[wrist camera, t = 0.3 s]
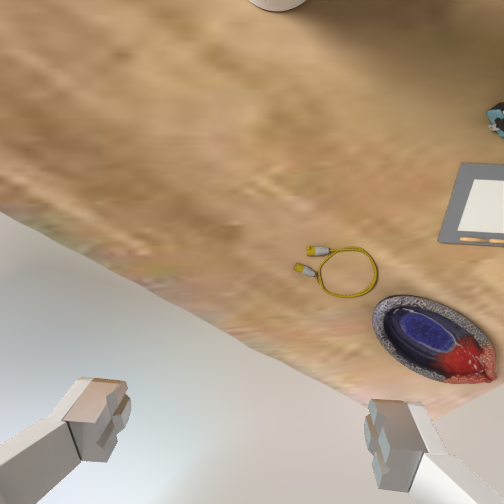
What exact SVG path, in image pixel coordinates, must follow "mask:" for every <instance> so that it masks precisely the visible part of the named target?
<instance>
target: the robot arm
mask: <svg viewBox="0 0 504 504" xmlns="http://www.w3.org/2000/svg"><path fill="white" fill-rule="evenodd" d="M249 1H250V2H252V3H253V4H255V5H256V6H258V7H260V8H262V9H265V10H269V11H285V10H289V9H292V8H295V7H297V6H298V5H300V4H302V3H303V2H305V1H306V0H249ZM127 389H128V388H127V384H126V382H125V381H119V380H110V379H99V378H87V377H81V378H79V379H78V380H77V381H76V382H75V383H74V384H73V386H72V387H71V388H70V389H69V391H68V392H67V393H66V394H65V396H64V397H63V398H62V399H61V401H60V402H59V403H58V404H57V406H56V407H55V408H54V410H53V411H52V412H51V413H50V415H49V416H48V417H47V418H46V420H42V419H41V420H39V421H38V422H36V423H35V424H33V425H31V426H30V427H28V428H27V429H25V430H23V431H22V432H20V433H19V434H17V435H15V436H14V437H12V438H11V439H9V440H7V441H6V442H4V443H2V444H1V445H0V504H36V503H37V502H38V501H39V500H40V499H41V498H42V497H44V496H45V495H46V494H47V493H48V492H49V491H50V490H51V489H52V488H53V487H54V486H56V485H57V484H58V483H59V482H60V481H61V480H62V479H63V478H64V477H65V476H66V475H68V474H69V473H70V472H71V471H72V470H73V469H74V468H75V467H76V466H77V465H78V464H80V463H81V461H93V462H107V461H108V459H109V457H110V455H111V453H112V451H113V449H114V448H115V446H116V444H117V442H118V441H117V435H116V434H118V433H119V432H120V431H121V430H123V429H124V428H125V426H126V424H127V422H128V419H129V416H130V411H131V400H130V398H129V397H128V396H127V395H126V394H125V393H126V391H127ZM368 409H369V412H370V414H369V415H368V416H366V418H365V424H364V425H365V426H364V428H365V429H364V430H365V439H366V443H367V447H368V450H369V451H370V452H371V453H372V454H373V456H374V459H373V462H372V466H373V470H374V474H375V477H376V481H377V485H378V489H384V490H392V491H400V492H408V493H409V495H410V497H411V498H412V499H413V500H414V502H415V503H416V504H504V498H502V497H501V496H500V495H499V494H498V493H497V492H496V491H494V490H493V489H492V488H491V487H490V486H489V485H488V484H487V483H485V482H484V481H483V480H482V479H481V478H480V477H479V476H477V475H476V474H475V473H474V472H473V471H472V470H471V469H469V468H468V467H467V466H466V465H465V464H464V463H463V462H462V461H460V460H459V459H458V458H457V457H456V456H455V455H449V453H448V451H447V449H446V447H445V446H444V444H443V442H442V440H441V438H440V436H439V434H438V432H437V430H436V428H435V426H434V424H433V422H432V420H431V418H430V416H429V414H428V412H427V410H426V409H425V407H424V405H423V404H422V403H421V402H409V401H398V400H382V399H371V400H370V401H369V405H368Z"/></svg>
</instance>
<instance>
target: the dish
mask: <svg viewBox="0 0 504 504" xmlns="http://www.w3.org/2000/svg"><path fill="white" fill-rule="evenodd" d="M372 324H373V328H374V331H375V333H376V336H377V338H378V339H379V341H380V343H381V344H382V345H383V347H384V348H385V349H386V350H387V351H388V352H389V354H390V355H392V356H393V357H394V358H395V359H396V360H397V361H399V362H400V363H401V364H403V365H404V366H406V367H408V368H409V369H411V370H413V371H415V372H416V373H418V374H420V375H423V376H425V377H427V378H430V379H433V380H436V381H440V382H444V383H451V384H476V383H482V382H486V383H490V382H492V380H495V379H496V378H497V374H496V373H494V371H495V366H496V354H495V350H494V347H493V345H492V343H491V341H490V340H489V339H488V337H487V336H486V335H485V334H484V333H483V332H482V331H481V330H480V329H479V328H478V327H477V326H476V325H475V324H473V323H472V322H471V321H469V320H468V319H467V318H465V317H464V316H462V315H461V314H459V313H458V312H456V311H454V310H452V309H450V308H448V307H446V306H444V305H442V304H439V303H437V302H434V301H431V300H428V299H425V298H422V297H418V296H412V295H394V296H389V297H387V298H385V299H383V300H382V301H380V302H379V303H378V304H377V306H376V308H375V310H374V312H373V317H372Z"/></svg>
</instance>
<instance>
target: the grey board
mask: <svg viewBox="0 0 504 504" xmlns="http://www.w3.org/2000/svg"><path fill="white" fill-rule="evenodd" d="M437 241H438V242H443V243H459V244H475V245H492V246H504V164H481V163H461V165H460V168H459V171H458V175H457V178H456V181H455V185H454V188H453V191H452V194H451V198H450V201H449V204H448V207H447V211H446V214H445V217H444V220H443V224H442V227H441V230H440V233H439V237H438V240H437Z"/></svg>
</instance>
